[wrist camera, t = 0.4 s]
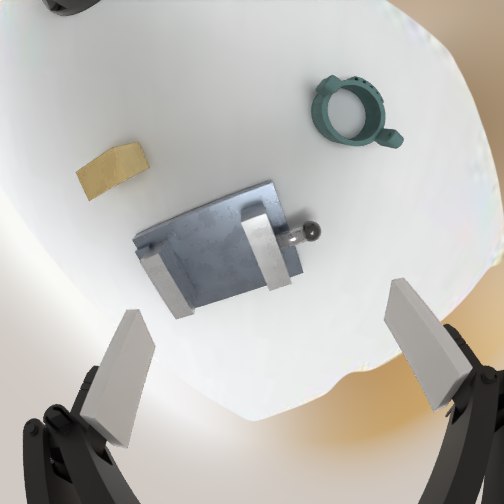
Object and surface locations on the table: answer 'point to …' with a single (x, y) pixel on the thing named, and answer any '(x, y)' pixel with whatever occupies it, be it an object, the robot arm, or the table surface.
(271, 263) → the free jaw
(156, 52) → the table surface
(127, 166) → the brass block
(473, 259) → the table surface
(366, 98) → the bracket
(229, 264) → the vise
